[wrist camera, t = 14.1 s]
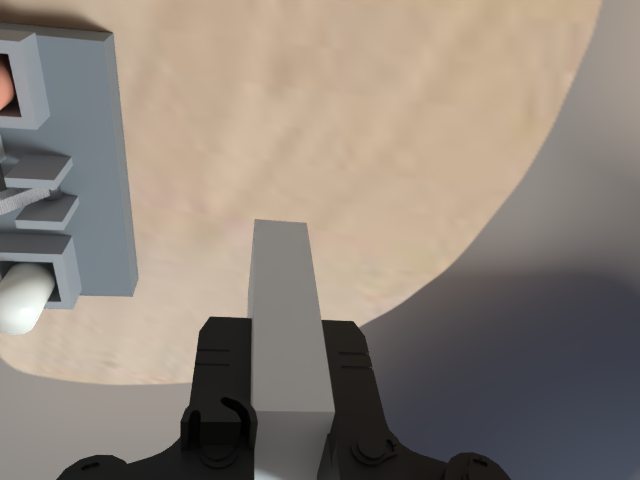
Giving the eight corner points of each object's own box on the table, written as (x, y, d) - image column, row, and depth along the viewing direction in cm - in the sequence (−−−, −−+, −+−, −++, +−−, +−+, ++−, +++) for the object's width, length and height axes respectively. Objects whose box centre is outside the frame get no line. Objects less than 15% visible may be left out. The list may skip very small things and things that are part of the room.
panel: (-52, 14, 39) (-110, 35, 33) (112, 30, 41) (87, 53, 34) (18, 275, 52) (-14, 324, 46) (138, 278, 54) (123, 326, 48)
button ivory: (2, 261, 45) (-24, 298, 41) (50, 263, 45) (30, 299, 41) (12, 296, 47) (-12, 334, 43) (58, 297, 48) (39, 334, 43)
